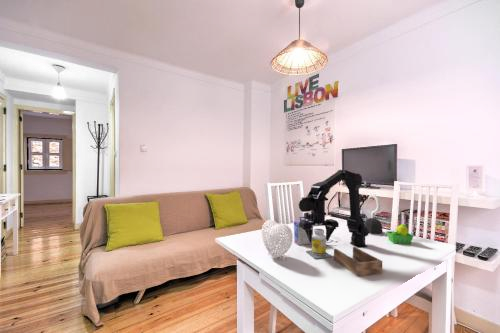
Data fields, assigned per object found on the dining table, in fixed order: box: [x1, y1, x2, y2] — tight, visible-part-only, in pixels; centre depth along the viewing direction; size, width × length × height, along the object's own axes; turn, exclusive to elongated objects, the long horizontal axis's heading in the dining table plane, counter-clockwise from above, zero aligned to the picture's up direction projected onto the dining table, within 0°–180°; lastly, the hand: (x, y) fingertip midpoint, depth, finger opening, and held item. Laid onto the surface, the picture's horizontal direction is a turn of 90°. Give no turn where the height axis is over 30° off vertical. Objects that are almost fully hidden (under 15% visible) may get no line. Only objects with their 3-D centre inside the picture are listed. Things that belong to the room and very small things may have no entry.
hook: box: [364, 194, 384, 236], centre depth 146 cm, size 11×11×25 cm
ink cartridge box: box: [293, 216, 314, 246], centre depth 127 cm, size 10×6×14 cm, turn 108°
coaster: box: [305, 249, 333, 260], centre depth 110 cm, size 9×9×1 cm
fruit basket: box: [386, 223, 414, 245], centre depth 128 cm, size 11×9×11 cm
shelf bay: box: [333, 246, 383, 277], centre depth 98 cm, size 11×16×5 cm
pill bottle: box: [311, 228, 327, 256], centre depth 110 cm, size 6×6×12 cm
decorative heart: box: [261, 219, 294, 262], centre depth 106 cm, size 18×11×17 cm, turn 35°
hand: (318, 241), depth 110 cm, fingers open, 9 cm apart
